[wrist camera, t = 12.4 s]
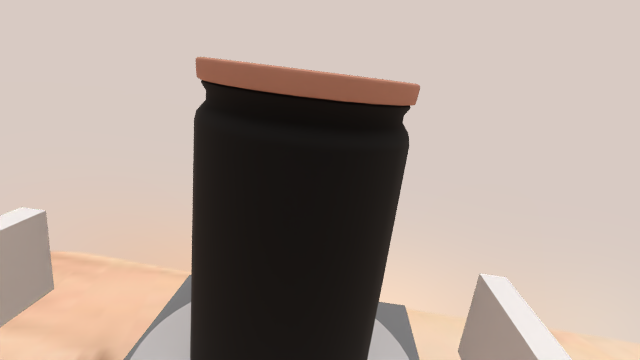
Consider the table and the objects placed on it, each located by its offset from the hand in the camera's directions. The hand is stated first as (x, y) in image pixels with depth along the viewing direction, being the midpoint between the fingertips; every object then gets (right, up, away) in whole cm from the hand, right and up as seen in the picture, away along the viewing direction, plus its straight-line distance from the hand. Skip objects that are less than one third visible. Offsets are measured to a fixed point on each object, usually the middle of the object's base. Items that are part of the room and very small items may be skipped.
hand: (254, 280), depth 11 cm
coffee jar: (-1, -9, +12) cm, 15 cm away
